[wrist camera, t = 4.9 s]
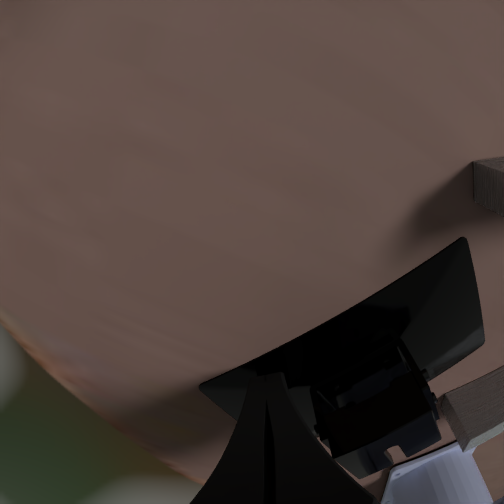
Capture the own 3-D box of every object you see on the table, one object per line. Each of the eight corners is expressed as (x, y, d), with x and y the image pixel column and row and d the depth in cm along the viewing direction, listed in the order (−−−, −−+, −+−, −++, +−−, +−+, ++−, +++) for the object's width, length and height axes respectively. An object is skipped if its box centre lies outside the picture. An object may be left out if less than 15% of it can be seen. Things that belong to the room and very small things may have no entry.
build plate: (278, 445, 16) (285, 517, 12) (193, 375, 13) (180, 468, 9) (482, 339, 13) (527, 400, 9) (460, 226, 10) (539, 287, 6)
